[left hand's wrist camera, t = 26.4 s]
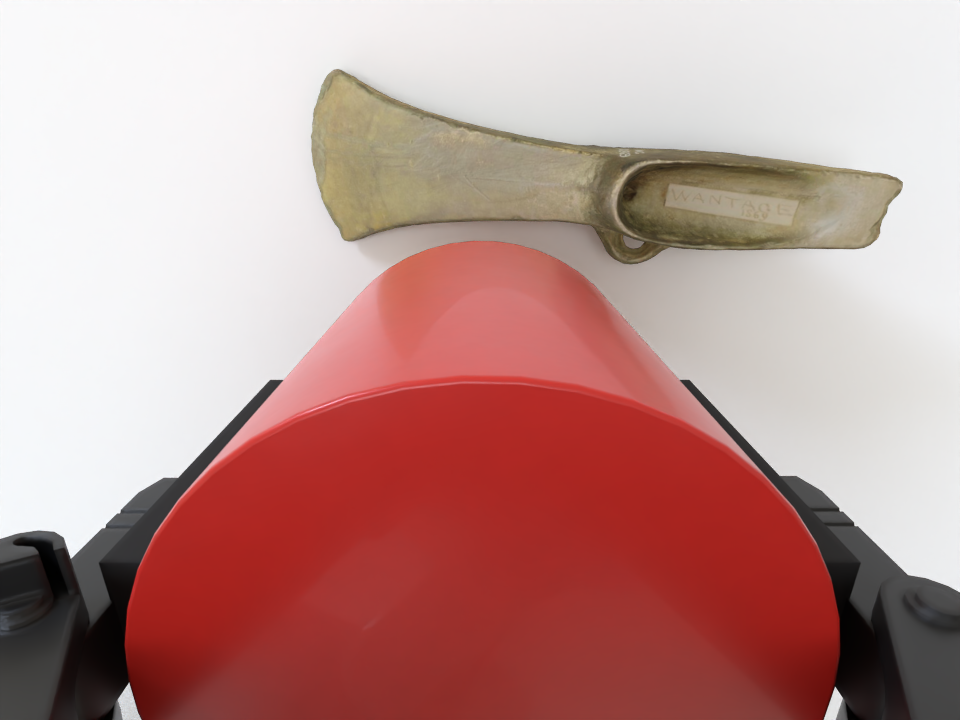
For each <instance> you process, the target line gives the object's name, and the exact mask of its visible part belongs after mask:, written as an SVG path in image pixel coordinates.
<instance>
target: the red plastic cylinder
mask: <svg viewBox="0 0 960 720" xmlns="http://www.w3.org/2000/svg"><path fill="white" fill-rule="evenodd" d="M125 652H126V661H127V670H128V679H129V683H130V686H131V690H132V693H133V697H134V700H135V703H136V707H137V710H138V713H139V715H140V717H141V719H142V720H824V717H825V714H826V711H827V708H828V706H829V703H830V700H831V697H832V694H833V691H834V688H835V682H836V676H837V670H838V664H839V658H840V622H839V614H838V609H837V604H836V600H835V595H834V590H833V585H832V580H831V577H830V575H829V572H828V570H827V567H826V565H825V563H824V560H823V558H822V555H821V553H820V550H819V548H818V545H817V543H816V541H815V540H814V538H813V537H812V535H811V533H810V532H809V530H808V529H807V527H806V526H805V524H804V522H803V521H802V519H801V518H800V516H799V515H798V513H797V511H796V510H795V508H794V507H793V506H792V505H791V504H790V503H789V501H788V500H787V499H786V498H785V497H784V496H783V495H782V494H781V493H780V491H779V490H778V489H777V488H776V487H775V486H774V485H773V484H772V483H771V481H770V480H769V479H768V478H767V477H766V476H765V475H764V474H763V473H762V471H761V470H760V469H759V468H758V467H757V466H756V465H755V464H754V463H753V461H752V460H751V459H750V458H749V457H748V456H747V455H746V454H745V453H744V451H743V450H742V449H741V448H740V447H739V446H738V445H737V444H736V442H735V441H734V440H733V439H732V438H731V437H730V436H729V435H728V434H727V432H726V431H725V430H724V429H723V428H722V427H721V426H720V425H719V424H718V422H717V421H716V420H715V419H714V418H713V417H712V416H711V415H710V414H709V412H708V411H707V410H706V409H705V408H704V407H703V406H702V405H701V404H700V402H699V401H698V400H697V399H696V398H695V397H694V396H693V395H692V394H691V392H690V391H689V390H688V389H687V388H686V387H685V386H684V385H683V384H682V382H681V381H680V380H679V379H678V378H677V377H676V376H675V375H674V373H673V372H672V371H671V370H670V369H669V368H668V367H667V366H666V365H665V363H664V362H663V361H662V360H661V359H660V358H659V357H658V356H657V355H656V353H655V352H654V351H653V350H652V349H651V348H650V347H649V346H648V345H647V343H646V342H645V341H644V340H643V339H642V338H641V337H640V336H639V335H638V333H637V332H636V331H635V330H634V329H633V328H632V327H631V326H630V325H629V323H628V322H627V321H626V320H625V319H624V318H623V317H622V316H621V315H620V313H619V312H618V311H617V310H616V309H615V308H614V307H613V306H612V304H611V303H610V302H609V301H608V300H607V299H606V298H605V297H604V296H603V295H602V293H601V292H600V291H599V290H598V289H597V288H596V287H595V286H594V285H593V284H592V283H591V282H590V281H588V280H587V279H586V278H585V277H584V276H582V275H581V274H580V273H579V272H578V271H576V270H574V269H573V268H571V267H570V266H568V265H566V264H565V263H563V262H562V261H560V260H558V259H556V258H554V257H551V256H549V255H547V254H545V253H542V252H540V251H537V250H534V249H530V248H527V247H524V246H520V245H516V244H509V243H503V242H496V241H469V242H460V243H451V244H447V245H443V246H439V247H435V248H431V249H428V250H425V251H423V252H420V253H418V254H415V255H413V256H410V257H408V258H406V259H404V260H403V261H401V262H399V263H397V264H396V265H394V266H392V267H390V268H389V269H388V270H386V271H385V272H384V273H382V274H381V275H380V276H379V277H377V278H376V279H375V280H373V281H372V282H371V283H370V284H369V285H368V286H367V287H366V288H365V289H364V290H363V291H362V292H361V293H360V294H359V295H358V296H357V298H356V299H355V300H354V301H353V302H352V303H351V304H350V306H349V307H348V308H347V309H346V310H345V311H344V312H343V313H342V315H341V316H340V317H339V318H338V319H337V320H336V321H335V323H334V324H333V325H332V326H331V327H330V328H329V329H328V331H327V332H326V333H325V334H324V335H323V336H322V337H321V338H320V340H319V341H318V342H317V343H316V344H315V345H314V346H313V348H312V349H311V350H310V351H309V352H308V353H307V354H306V355H305V357H304V358H303V359H302V360H301V361H300V362H299V363H298V365H297V366H296V367H295V368H294V369H293V370H292V371H291V372H290V374H289V375H288V376H287V377H286V378H285V379H284V380H283V382H282V383H281V384H280V385H279V386H278V387H277V388H276V389H275V391H274V392H273V393H272V394H271V395H270V396H269V397H268V399H267V400H266V401H265V402H264V403H263V404H262V405H261V406H260V408H259V409H258V410H257V411H256V412H255V413H254V414H253V416H252V417H251V418H250V419H249V420H248V421H247V422H246V423H245V425H244V426H243V427H242V428H241V429H240V430H239V431H238V433H237V434H236V435H235V436H234V437H233V438H232V439H231V441H230V442H229V443H228V444H227V445H226V446H225V447H224V448H223V450H222V451H221V452H220V453H219V454H218V455H217V456H216V458H215V459H214V460H213V461H212V462H211V463H210V464H209V465H208V467H207V468H206V469H205V470H204V471H203V472H202V473H201V475H200V476H199V477H198V478H197V479H196V480H195V481H194V482H193V484H192V485H191V486H190V487H189V488H188V489H187V490H186V492H185V493H184V494H183V495H182V496H181V497H180V498H179V500H178V501H177V502H176V504H175V505H174V507H173V508H172V510H171V511H170V512H169V514H168V515H167V517H166V518H165V519H164V521H163V522H162V524H161V525H160V526H159V528H158V529H157V531H156V532H155V534H154V536H153V538H152V540H151V542H150V544H149V546H148V548H147V551H146V553H145V555H144V557H143V559H142V561H141V563H140V565H139V567H138V570H137V574H136V577H135V581H134V585H133V589H132V593H131V596H130V600H129V604H128V608H127V620H126V634H125Z"/></svg>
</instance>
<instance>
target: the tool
mask: <svg viewBox="0 0 960 720" xmlns="http://www.w3.org/2000/svg"><path fill="white" fill-rule="evenodd" d="M313 117H314V118H313V124H312V128H313V132H312V135H311V138H312V157H313V165H314V168H315V172H316V177H317V183H318V186H319V189H320V191H321V197H322V200H323V202H324V204H325V206H326V208H327V210H328V212H329V214H330V216H331V218H332V220H333V221H334V223H335V225H336V226H337V227H338V228H339V230H340V233H341V236H342V238H343V239H344V240H346V241H355V240H358V239H361V238H364V237H366V236H369V235H371V234H374V233H378V232H382V231H386V230H390V229H394V228H398V227H404V226H410V225H420V224H428V223H440V222H463V221H560V222H571V223H578V224H585V225H591V226H592V227H593V228H595V230H596V232H597V234H598V235H599V237H600V239H601V241H602V242H603V244H604V247H605V249H606V251H607V252H608V253H609V255H611V256H612V257H613V258H614V259H615V260H618V261H620V262H622V263H624V264H638V263H641V262H644V261H647V260H649V259H651V258H652V257H654V256H656V255H657V254H658V253H660V252H661V251H662V250H665V249H667V248H669V247H675V248H682V249H698V250H767V249H798V248H804V249H859V248H865V247H867V246H869V245H871V244H872V243H873V242H874V241H875V240H877V238H878V237H879V234H880V226H881V223H882V220H883V218H884V216H885V215H886V213H887V209H888V205H889V204H890V203H891V201H892V200H893V199H894V198H895V197H896V196H898V194H899V193H900V192H901V190H902V185H903V182H902V181H900V180H899V179H898V178H897V177H892V176H890V175H888V174H882V173H872V172H866V171H860V170H853V169H843V168H833V167H826V166H820V165H815V164H806V163H799V162H793V161H787V160H778V159H770V158H763V157H756V156H745V155H739V154H732V153H723V152H707V151H686V150H675V149H643V148H621V147H615V148H613V147H600V146H595V145H589V146H585V145H573V144H567V143H561V142H554V141H548V140H544V139H538V138H533V137H526V136H522V135H517V134H513V133H509V132H503V131H498V130H493V129H489V128H485V127H481V126H477V125H473V124H469V123H465V122H460V121H457V120H454V119H450V118H447V117H444V116H441V115H437V114H434V113H430V112H427V111H424V110H421V109H418V108H416V107H413V106H410V105H408V104H405V103H402V102H400V101H398V100H395V99H393V98H390V97H389V96H387V95H385V94H383V93H381V92H379V91H377V90H375V89H373V88H372V87H370V86H368V85H366V84H364V83H363V82H361V81H359V80H358V79H356V78H355V77H353V76H351V75H349V74H347V73H345V72H344V71H342V70H339V69H336V70H333V71H332V72H331V73H329V74H328V75H327V77H326V79H325V81H324V82H323V84H322V86H321V91H320V94H319V96H318V100H317V104H316V106H315V109H314V113H313ZM623 235H625V236H627V237H630V238H633V239H635V240H639V241H644V244H643V245H642V246H641V247H639V248H636V249H631V248H628V247H627V246H626V245H625V243H624V241H623Z"/></svg>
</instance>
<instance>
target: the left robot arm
mask: <svg viewBox="0 0 960 720" xmlns="http://www.w3.org/2000/svg"><path fill="white" fill-rule="evenodd" d="M680 381H681V382H682V384H683V385H684V386H685V387H686V388H687V389H688V390H689V391H690V392H691V394H692V395H693V396H694V397H695V398H696V399H697V400H698V401H699V402H700V404H701V405H702V406H703V407H704V408H705V409H706V410H707V411H708V412H709V414H710V415H711V416H712V417H713V418H714V419H715V420H716V421H717V422H718V424H719V425H720V426H721V427H722V428H723V429H724V430H725V431H726V432H727V434H728V435H729V436H730V437H731V438H732V439H733V440H734V441H735V442H736V444H737V445H738V446H739V447H740V448H741V449H742V450H743V451H744V453H745V454H746V455H747V456H748V457H749V458H750V459H751V460H752V461H753V463H754V464H755V465H756V466H757V467H758V468H759V469H760V470H761V471H762V473H763V474H764V475H765V476H766V477H767V478H768V479H769V480H770V481H771V483H772V484H773V485H774V486H775V487H776V488H777V489H778V490H779V491H780V493H781V494H782V495H783V496H784V497H785V498H786V499H787V500H788V501H789V503H790V504H791V505H792V506H793V507H794V508H795V510H796V511H797V513H798V515H799V516H800V518H801V519H802V521H803V522H804V524H805V526H806V527H807V529H808V530H809V532H810V533H811V535H812V537H813V538H814V540H815V541H816V543H817V545H818V548H819V550H820V553H821V555H822V558H823V560H824V563H825V565H826V567H827V570H828V572H829V575H830V577H831V580H832V585H833V590H834V595H835V600H836V604H837V609H838V614H839V622H840V658H839V664H838V670H837V676H836V682H835V687H836V688H837V690H838V691H839V693H840V694H841V696H842V697H843V700H842V703H841V706H840V709H839V712H838V715H837V718H836V720H960V592H958V591H956V590H954V589H952V588H950V587H949V586H946V585H943V584H940V583H938V582H935V581H932V580H929V579H926V578H921V577H915V576H909V575H907V574H906V573H905V572H904V571H903V570H902V569H901V568H900V567H899V566H898V565H897V564H896V563H895V562H894V561H893V560H892V559H891V558H890V557H889V556H888V555H887V554H886V553H885V552H884V551H883V550H882V549H881V548H879V547H878V546H877V545H876V544H875V543H874V542H873V541H872V540H871V539H870V538H869V537H868V536H867V535H866V534H865V533H864V532H863V531H862V530H861V529H860V528H859V527H858V526H854V522H853V521H852V520H851V519H850V518H849V517H848V516H847V515H846V514H845V513H844V512H840V511H839V507H837V506H836V505H835V504H834V503H833V502H832V501H831V500H830V499H829V498H828V497H827V496H826V495H825V494H824V493H823V492H822V491H821V490H819V489H817V488H816V487H814V486H812V485H811V484H809V483H807V482H805V481H804V480H802V479H800V478H799V477H797V476H779V475H778V474H777V473H776V472H775V471H774V470H773V468H772V467H771V466H770V465H769V464H768V463H767V462H766V461H765V460H764V459H763V458H762V457H761V456H760V455H759V454H758V453H757V451H756V450H755V449H754V448H753V447H752V446H751V445H750V444H749V443H748V442H747V441H746V440H745V439H744V438H743V437H742V436H741V434H740V433H739V432H738V431H737V430H736V429H735V428H734V427H733V426H732V425H731V424H730V423H729V422H728V421H727V420H726V419H725V417H724V416H723V415H722V414H721V413H720V412H719V411H718V410H717V409H716V408H715V407H714V406H713V405H712V404H711V403H710V401H709V400H708V399H707V398H706V397H705V396H704V395H703V394H702V393H701V392H700V391H699V390H698V389H697V388H696V387H695V386H694V384H693V383H692V382H691V381H690V380H680ZM282 382H283V380H270V381H269V382H268V383H267V384H266V385H265V386H264V387H263V388H262V389H261V390H260V392H259V393H258V394H257V395H256V396H255V397H254V398H253V399H252V400H251V401H250V402H249V403H248V404H247V405H246V406H245V407H244V409H243V410H242V411H241V412H240V413H239V414H238V415H237V416H236V417H235V418H234V419H233V420H232V421H231V422H230V423H229V424H228V426H227V427H226V428H225V429H224V430H223V431H222V432H221V433H220V434H219V435H218V436H217V437H216V438H215V439H214V440H213V441H212V443H211V444H210V445H209V446H208V447H207V448H206V449H205V450H204V451H203V452H202V453H201V454H200V455H199V456H198V457H197V458H196V460H195V461H194V462H193V463H192V464H191V465H190V466H189V467H188V468H187V469H186V470H185V471H184V472H183V473H182V474H181V475H180V477H179V478H163V479H161V480H159V481H158V482H156V483H154V484H153V485H151V486H149V487H148V488H146V489H144V490H142V491H141V492H139V493H138V494H137V495H136V496H135V497H134V498H133V499H132V500H131V501H130V502H129V503H128V504H127V505H126V506H125V507H124V508H123V509H121V513H120V514H116V515H115V516H114V517H113V518H112V519H111V520H110V521H109V522H108V523H107V524H106V528H102V529H101V530H100V531H99V532H98V533H97V534H96V535H95V536H94V537H93V538H92V539H91V540H90V541H89V542H88V543H87V544H86V545H85V546H84V547H83V548H82V549H81V550H80V551H79V552H78V553H77V554H76V555H75V556H74V557H73V558H72V559H71V558H70V555H69V552H68V549H67V546H66V543H65V540H64V538H63V537H62V536H60V535H58V534H57V533H55V532H49V531H32V532H26V533H19V534H15V535H12V536H9V537H6V538H2V539H0V720H122V714H121V709H120V706H119V703H118V698H119V697H120V695H121V694H122V692H123V691H124V689H125V688H126V686H127V685H128V683H129V679H128V670H127V661H126V652H125V634H126V620H127V608H128V604H129V600H130V596H131V593H132V589H133V585H134V581H135V577H136V574H137V570H138V567H139V565H140V563H141V561H142V559H143V557H144V555H145V553H146V551H147V548H148V546H149V544H150V542H151V540H152V538H153V536H154V534H155V532H156V531H157V529H158V528H159V526H160V525H161V524H162V522H163V521H164V519H165V518H166V517H167V515H168V514H169V512H170V511H171V510H172V508H173V507H174V505H175V504H176V502H177V501H178V500H179V498H180V497H181V496H182V495H183V494H184V493H185V492H186V490H187V489H188V488H189V487H190V486H191V485H192V484H193V482H194V481H195V480H196V479H197V478H198V477H199V476H200V475H201V473H202V472H203V471H204V470H205V469H206V468H207V467H208V465H209V464H210V463H211V462H212V461H213V460H214V459H215V458H216V456H217V455H218V454H219V453H220V452H221V451H222V450H223V448H224V447H225V446H226V445H227V444H228V443H229V442H230V441H231V439H232V438H233V437H234V436H235V435H236V434H237V433H238V431H239V430H240V429H241V428H242V427H243V426H244V425H245V423H246V422H247V421H248V420H249V419H250V418H251V417H252V416H253V414H254V413H255V412H256V411H257V410H258V409H259V408H260V406H261V405H262V404H263V403H264V402H265V401H266V400H267V399H268V397H269V396H270V395H271V394H272V393H273V392H274V391H275V389H276V388H277V387H278V386H279V385H280V384H281V383H282Z"/></svg>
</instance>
